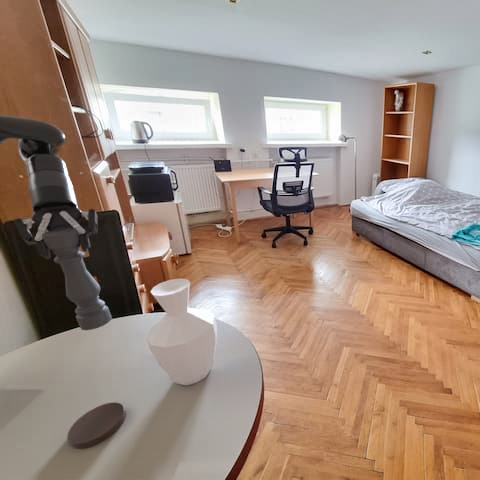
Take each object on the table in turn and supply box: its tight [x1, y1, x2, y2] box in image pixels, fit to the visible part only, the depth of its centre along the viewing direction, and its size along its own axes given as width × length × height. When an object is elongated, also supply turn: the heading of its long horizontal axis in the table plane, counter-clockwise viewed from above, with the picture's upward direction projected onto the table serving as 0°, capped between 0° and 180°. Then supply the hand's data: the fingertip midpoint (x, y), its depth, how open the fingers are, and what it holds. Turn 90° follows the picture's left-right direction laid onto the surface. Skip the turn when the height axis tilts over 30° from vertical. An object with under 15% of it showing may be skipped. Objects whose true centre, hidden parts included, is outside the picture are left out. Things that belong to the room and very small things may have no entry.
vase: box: [145, 278, 218, 386], centre depth 69 cm, size 14×14×25 cm
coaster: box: [67, 401, 127, 450], centre depth 60 cm, size 9×9×2 cm
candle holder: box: [42, 228, 113, 331], centre depth 69 cm, size 6×6×25 cm
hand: (66, 253), depth 65 cm, fingers closed on candle holder, 5 cm apart
